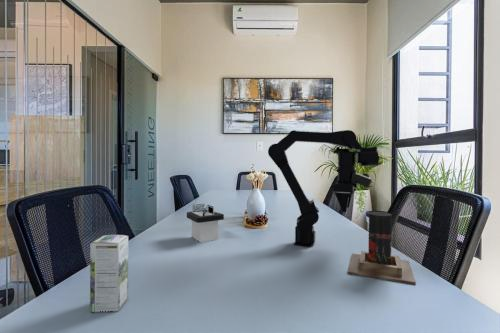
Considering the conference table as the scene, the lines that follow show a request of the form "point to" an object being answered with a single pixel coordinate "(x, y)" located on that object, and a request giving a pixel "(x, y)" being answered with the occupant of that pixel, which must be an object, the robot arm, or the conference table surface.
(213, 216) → the black-topped pedestal
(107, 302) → the syrup box
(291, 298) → the conference table surface
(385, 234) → the deodorant
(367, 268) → the holder
